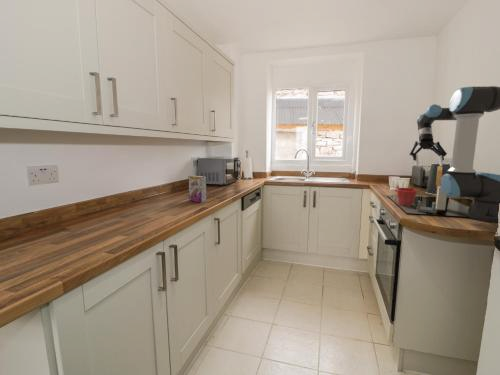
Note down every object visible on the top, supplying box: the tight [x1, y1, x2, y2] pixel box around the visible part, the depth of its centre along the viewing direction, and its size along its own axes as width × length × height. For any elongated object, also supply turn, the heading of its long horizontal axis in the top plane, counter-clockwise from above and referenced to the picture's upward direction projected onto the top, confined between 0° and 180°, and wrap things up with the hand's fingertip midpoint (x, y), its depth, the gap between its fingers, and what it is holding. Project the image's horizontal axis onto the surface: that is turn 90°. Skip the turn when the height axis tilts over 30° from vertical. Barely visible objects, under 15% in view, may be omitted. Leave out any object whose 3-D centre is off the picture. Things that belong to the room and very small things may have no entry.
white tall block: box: [435, 185, 448, 211], centre depth 156 cm, size 4×6×13 cm, turn 151°
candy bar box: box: [188, 174, 207, 204], centre depth 173 cm, size 11×5×16 cm, turn 58°
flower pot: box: [396, 187, 418, 207], centre depth 168 cm, size 11×11×10 cm
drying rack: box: [415, 200, 437, 214], centre depth 151 cm, size 9×8×5 cm
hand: (429, 165), depth 167 cm, fingers open, 13 cm apart
